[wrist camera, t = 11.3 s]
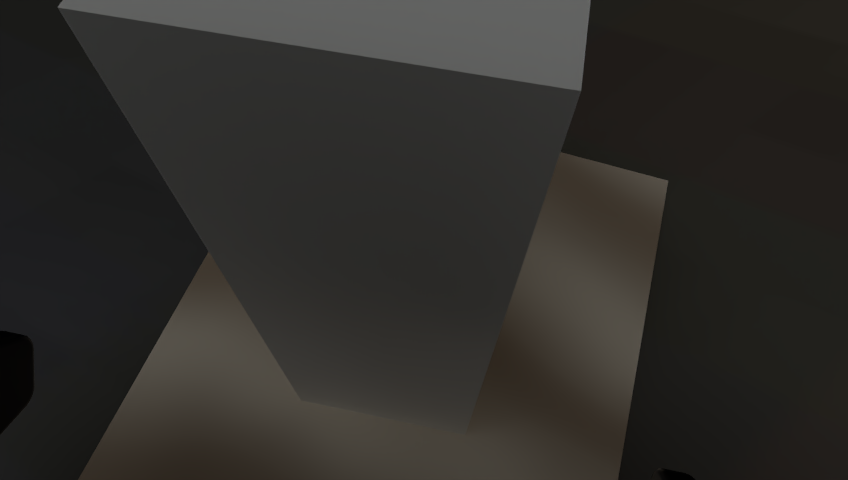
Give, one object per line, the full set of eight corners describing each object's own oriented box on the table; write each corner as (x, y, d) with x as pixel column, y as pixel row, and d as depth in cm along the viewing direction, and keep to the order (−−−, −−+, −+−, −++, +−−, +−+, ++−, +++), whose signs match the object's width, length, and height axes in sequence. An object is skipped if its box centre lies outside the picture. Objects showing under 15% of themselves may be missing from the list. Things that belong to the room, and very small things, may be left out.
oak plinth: (553, 762, 14) (567, 779, 13) (64, 560, 16) (33, 558, 15) (652, 205, 22) (667, 181, 20) (310, 111, 24) (304, 84, 22)
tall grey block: (464, 435, 16) (580, 91, 5) (300, 400, 17) (57, 7, 5) (490, 283, 18) (611, -198, 7) (344, 256, 19) (237, -244, 7)
